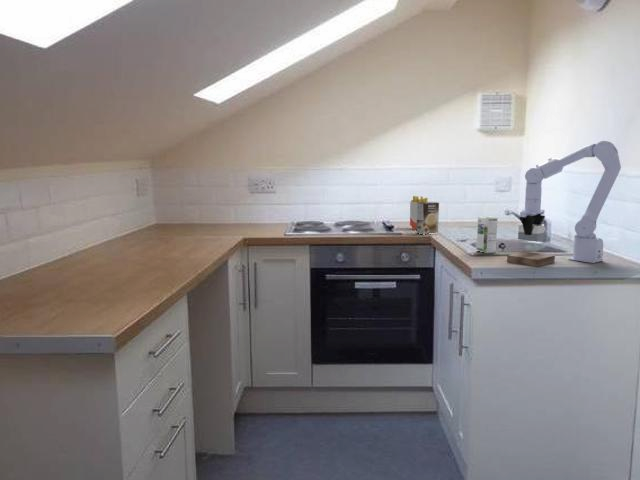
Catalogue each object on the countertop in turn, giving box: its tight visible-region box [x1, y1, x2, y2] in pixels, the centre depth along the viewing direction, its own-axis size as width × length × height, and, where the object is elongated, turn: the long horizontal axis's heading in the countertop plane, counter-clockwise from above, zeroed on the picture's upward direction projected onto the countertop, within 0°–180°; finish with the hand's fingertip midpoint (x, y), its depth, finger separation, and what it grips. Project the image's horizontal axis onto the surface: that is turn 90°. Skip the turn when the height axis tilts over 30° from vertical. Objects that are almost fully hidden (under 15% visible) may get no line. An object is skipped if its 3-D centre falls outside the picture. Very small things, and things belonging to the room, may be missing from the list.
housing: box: [517, 223, 545, 242], centre depth 209 cm, size 8×5×6 cm, turn 39°
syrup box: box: [476, 215, 498, 254], centre depth 218 cm, size 6×6×14 cm
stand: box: [506, 250, 556, 267], centre depth 197 cm, size 12×12×2 cm
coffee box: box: [415, 201, 440, 235], centre depth 269 cm, size 9×6×16 cm
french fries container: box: [409, 195, 429, 230], centre depth 285 cm, size 5×11×18 cm, turn 41°
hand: (531, 234), depth 209 cm, fingers closed on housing, 5 cm apart
